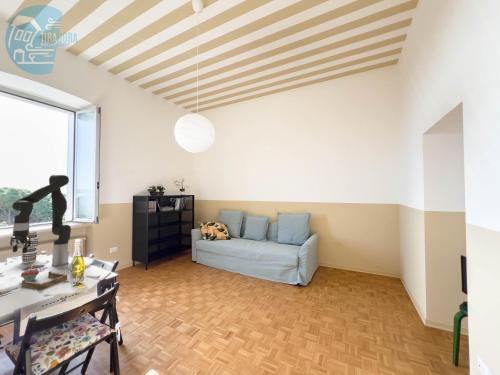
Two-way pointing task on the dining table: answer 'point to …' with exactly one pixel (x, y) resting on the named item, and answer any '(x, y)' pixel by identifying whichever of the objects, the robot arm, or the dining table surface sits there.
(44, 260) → the dining table surface
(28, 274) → the cupcake
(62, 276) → the walnut corral
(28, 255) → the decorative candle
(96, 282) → the dining table surface
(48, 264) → the dining table surface
